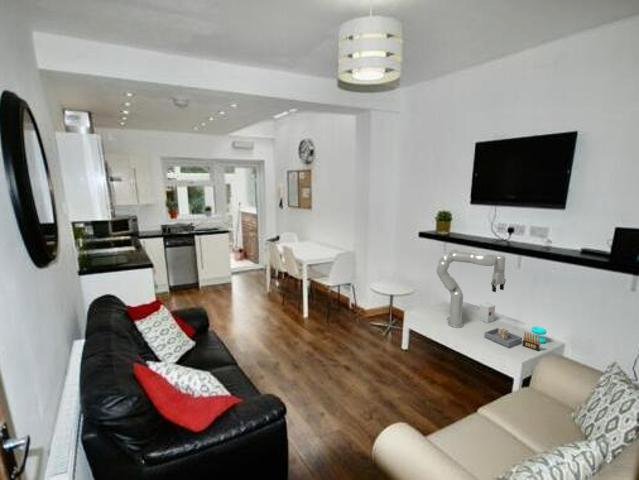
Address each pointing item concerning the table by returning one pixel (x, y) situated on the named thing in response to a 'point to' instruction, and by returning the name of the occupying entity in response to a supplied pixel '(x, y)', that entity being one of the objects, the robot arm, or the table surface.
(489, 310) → the supplement box
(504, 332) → the birch block
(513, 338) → the tray
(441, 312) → the table surface
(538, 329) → the donuts
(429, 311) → the table surface
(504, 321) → the table surface
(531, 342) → the ammunition clip
